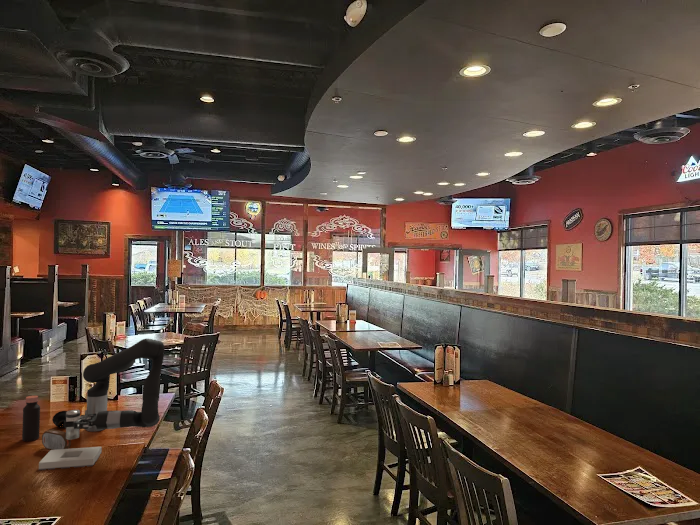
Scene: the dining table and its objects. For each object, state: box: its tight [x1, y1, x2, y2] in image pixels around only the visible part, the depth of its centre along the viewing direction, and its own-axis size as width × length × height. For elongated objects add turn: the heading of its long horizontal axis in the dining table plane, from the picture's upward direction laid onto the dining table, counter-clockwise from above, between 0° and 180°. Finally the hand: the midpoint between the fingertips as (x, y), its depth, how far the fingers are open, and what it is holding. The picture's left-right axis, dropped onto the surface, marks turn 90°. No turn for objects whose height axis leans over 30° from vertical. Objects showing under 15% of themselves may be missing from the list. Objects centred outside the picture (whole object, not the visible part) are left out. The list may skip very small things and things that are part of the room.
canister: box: [65, 409, 81, 441], centre depth 204 cm, size 5×5×11 cm
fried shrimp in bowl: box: [51, 410, 68, 429], centre depth 249 cm, size 9×11×18 cm
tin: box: [41, 428, 72, 450], centre depth 216 cm, size 15×3×8 cm, turn 71°
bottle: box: [21, 395, 41, 442], centre depth 228 cm, size 7×7×20 cm
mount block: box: [38, 446, 102, 471], centre depth 203 cm, size 20×14×3 cm
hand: (65, 422), depth 203 cm, fingers closed on canister, 5 cm apart
